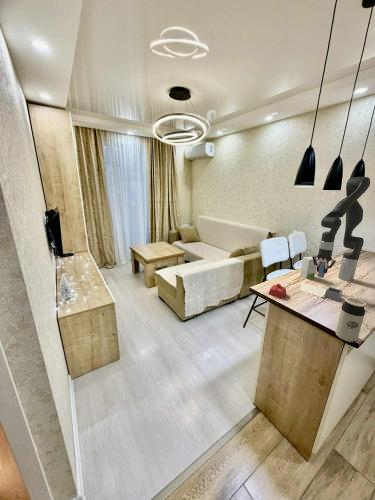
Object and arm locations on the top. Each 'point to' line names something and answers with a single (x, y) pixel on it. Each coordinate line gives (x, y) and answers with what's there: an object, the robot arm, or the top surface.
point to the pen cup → (333, 293)
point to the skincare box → (308, 268)
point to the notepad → (313, 290)
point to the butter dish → (277, 291)
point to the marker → (321, 269)
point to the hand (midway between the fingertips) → (321, 272)
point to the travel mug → (350, 319)
